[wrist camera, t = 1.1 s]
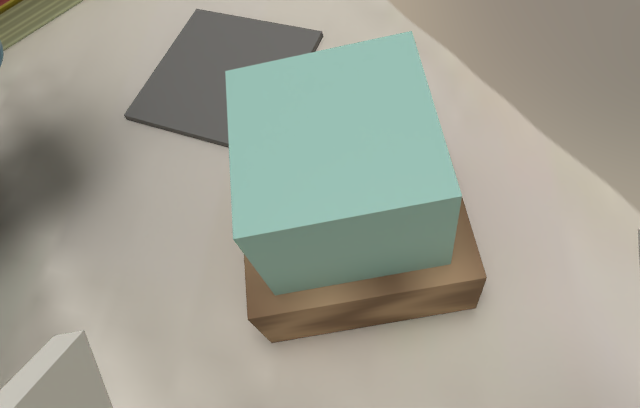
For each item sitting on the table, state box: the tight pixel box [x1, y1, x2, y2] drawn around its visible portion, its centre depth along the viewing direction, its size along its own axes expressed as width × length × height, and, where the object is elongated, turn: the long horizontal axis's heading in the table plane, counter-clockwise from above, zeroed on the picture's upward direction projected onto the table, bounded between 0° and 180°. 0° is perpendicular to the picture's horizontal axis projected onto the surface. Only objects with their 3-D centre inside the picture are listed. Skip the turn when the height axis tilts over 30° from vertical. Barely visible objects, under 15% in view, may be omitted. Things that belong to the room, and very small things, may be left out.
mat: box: [124, 9, 323, 147], centre depth 41 cm, size 12×12×1 cm
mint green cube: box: [225, 31, 462, 295], centre depth 25 cm, size 9×9×7 cm
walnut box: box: [244, 198, 487, 343], centre depth 29 cm, size 12×11×7 cm
